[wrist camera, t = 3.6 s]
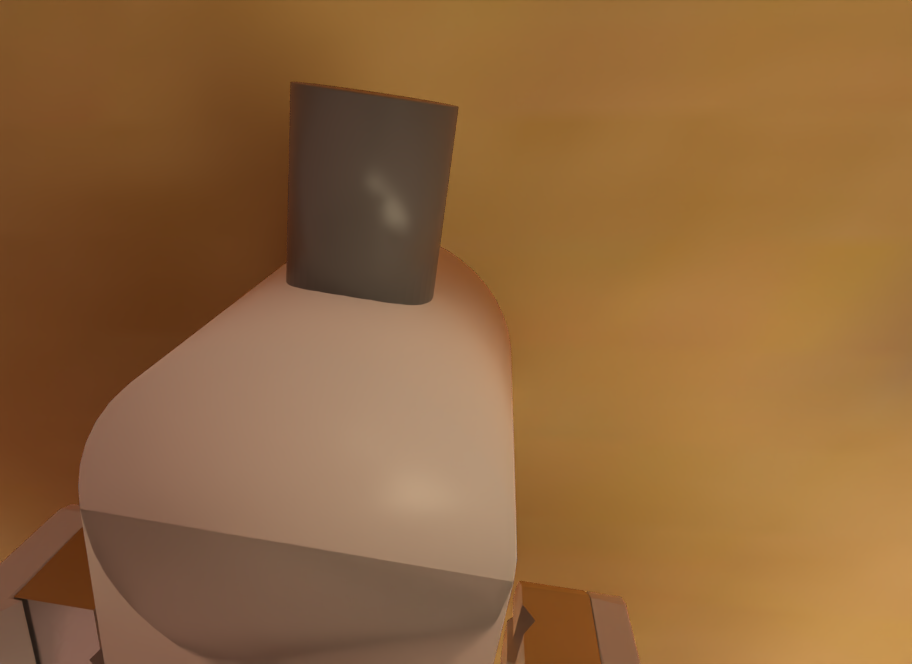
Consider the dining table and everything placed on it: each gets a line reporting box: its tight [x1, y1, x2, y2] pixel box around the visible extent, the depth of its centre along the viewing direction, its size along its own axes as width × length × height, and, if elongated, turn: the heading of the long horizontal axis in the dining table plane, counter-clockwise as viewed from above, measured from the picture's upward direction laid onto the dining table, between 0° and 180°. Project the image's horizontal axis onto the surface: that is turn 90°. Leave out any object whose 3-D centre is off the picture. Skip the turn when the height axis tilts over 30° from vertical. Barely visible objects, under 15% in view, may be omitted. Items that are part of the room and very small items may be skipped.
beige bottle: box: [78, 82, 517, 664], centre depth 8 cm, size 14×4×4 cm, turn 172°
